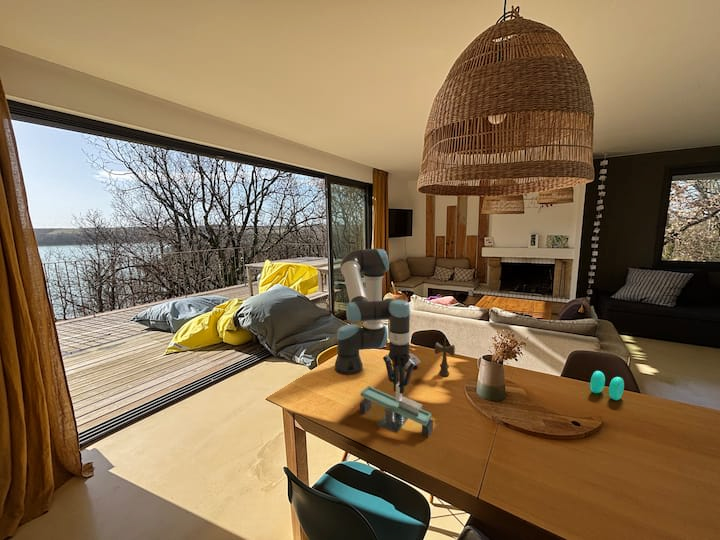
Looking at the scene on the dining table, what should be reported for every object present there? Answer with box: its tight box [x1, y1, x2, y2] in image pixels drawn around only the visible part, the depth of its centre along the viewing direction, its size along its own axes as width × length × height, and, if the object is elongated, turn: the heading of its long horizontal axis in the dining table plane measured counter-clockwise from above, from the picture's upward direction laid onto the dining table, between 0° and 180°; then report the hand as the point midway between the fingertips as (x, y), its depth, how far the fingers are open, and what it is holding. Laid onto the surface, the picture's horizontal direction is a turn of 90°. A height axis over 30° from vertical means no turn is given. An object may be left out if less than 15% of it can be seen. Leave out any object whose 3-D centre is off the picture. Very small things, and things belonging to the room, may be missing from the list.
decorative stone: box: [405, 351, 422, 370], centre depth 167 cm, size 13×10×6 cm
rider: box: [399, 395, 423, 417], centre depth 114 cm, size 3×8×4 cm, turn 57°
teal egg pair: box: [589, 370, 625, 401], centre depth 134 cm, size 10×10×10 cm
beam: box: [360, 385, 433, 426], centre depth 118 cm, size 7×28×2 cm, turn 57°
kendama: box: [434, 337, 456, 377], centre depth 154 cm, size 6×10×20 cm, turn 67°
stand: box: [359, 398, 434, 438], centre depth 119 cm, size 13×29×7 cm, turn 57°
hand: (398, 400), depth 117 cm, fingers closed
